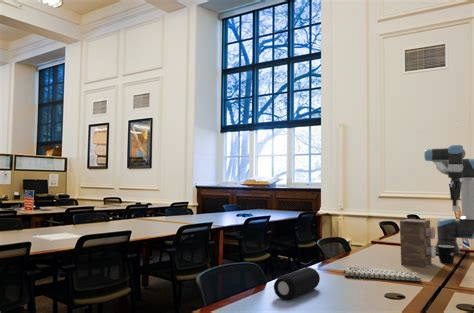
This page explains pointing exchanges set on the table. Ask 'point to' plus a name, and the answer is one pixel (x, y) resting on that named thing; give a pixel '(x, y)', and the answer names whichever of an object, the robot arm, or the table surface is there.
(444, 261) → the mug
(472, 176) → the robot arm
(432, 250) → the white rounded piece
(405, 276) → the mechanical keyboard
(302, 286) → the portable speaker
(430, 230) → the terracotta key
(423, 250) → the key console
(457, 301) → the table surface
